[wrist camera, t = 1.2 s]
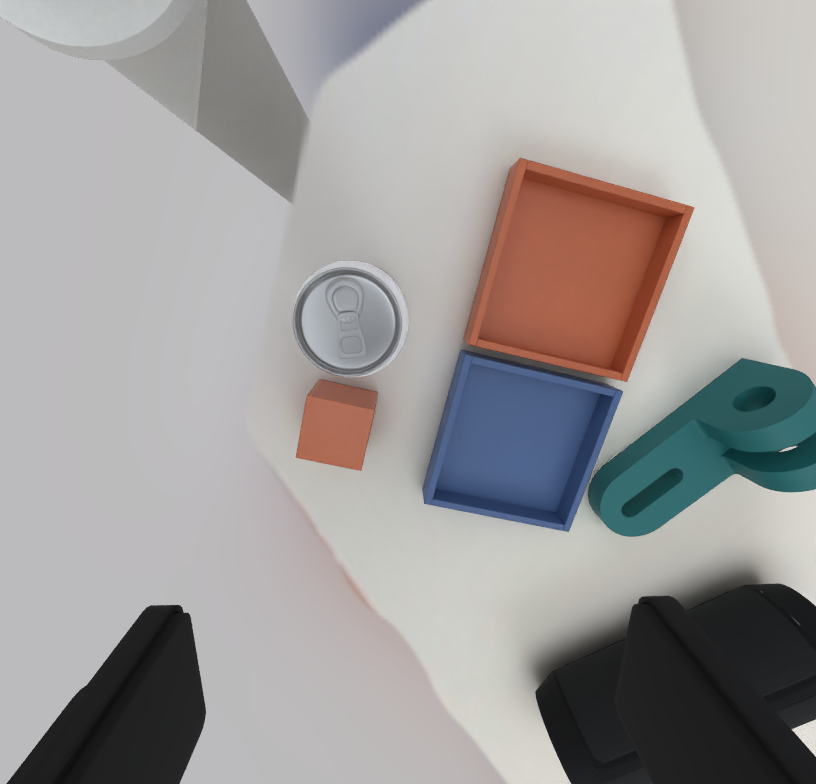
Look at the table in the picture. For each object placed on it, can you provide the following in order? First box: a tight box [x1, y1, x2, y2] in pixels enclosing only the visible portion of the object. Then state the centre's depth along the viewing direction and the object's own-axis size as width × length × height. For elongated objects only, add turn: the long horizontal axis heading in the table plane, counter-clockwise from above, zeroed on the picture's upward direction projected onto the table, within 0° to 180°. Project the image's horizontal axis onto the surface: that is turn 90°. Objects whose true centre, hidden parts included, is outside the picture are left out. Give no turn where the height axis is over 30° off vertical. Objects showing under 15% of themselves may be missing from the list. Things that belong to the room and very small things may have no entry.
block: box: [296, 380, 377, 471], centre depth 32 cm, size 5×5×5 cm
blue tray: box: [422, 350, 623, 532], centre depth 34 cm, size 13×13×2 cm
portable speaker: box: [536, 584, 816, 784], centre depth 37 cm, size 26×10×10 cm, turn 119°
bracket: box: [588, 358, 816, 537], centre depth 33 cm, size 18×7×8 cm, turn 133°
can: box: [293, 261, 409, 377], centre depth 26 cm, size 6×6×12 cm
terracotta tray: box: [463, 158, 694, 382], centre depth 31 cm, size 13×13×2 cm
